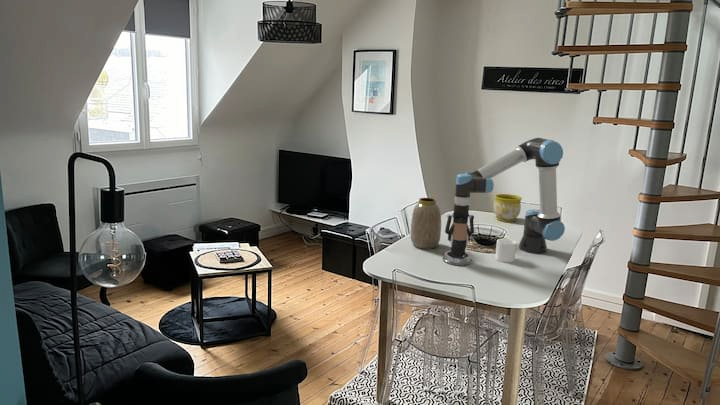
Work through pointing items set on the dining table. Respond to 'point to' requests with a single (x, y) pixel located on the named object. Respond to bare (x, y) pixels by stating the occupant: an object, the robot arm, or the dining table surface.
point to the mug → (505, 250)
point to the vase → (426, 224)
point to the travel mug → (459, 236)
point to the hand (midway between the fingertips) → (458, 246)
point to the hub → (457, 259)
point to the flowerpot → (507, 207)
